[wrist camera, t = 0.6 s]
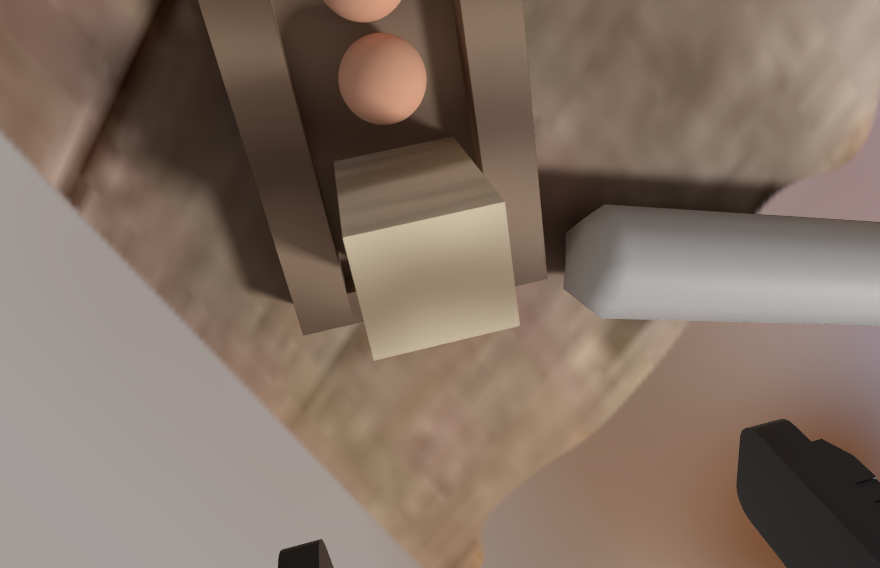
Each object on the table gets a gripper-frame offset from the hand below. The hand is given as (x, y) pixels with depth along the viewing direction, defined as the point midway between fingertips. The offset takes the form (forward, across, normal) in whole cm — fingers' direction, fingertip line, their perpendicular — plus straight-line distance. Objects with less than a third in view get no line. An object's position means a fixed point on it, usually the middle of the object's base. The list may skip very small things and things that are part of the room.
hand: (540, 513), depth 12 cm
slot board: (+18, 0, -4) cm, 19 cm away
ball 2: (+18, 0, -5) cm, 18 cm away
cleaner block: (+18, 0, 0) cm, 18 cm away
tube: (+19, -18, +8) cm, 27 cm away
